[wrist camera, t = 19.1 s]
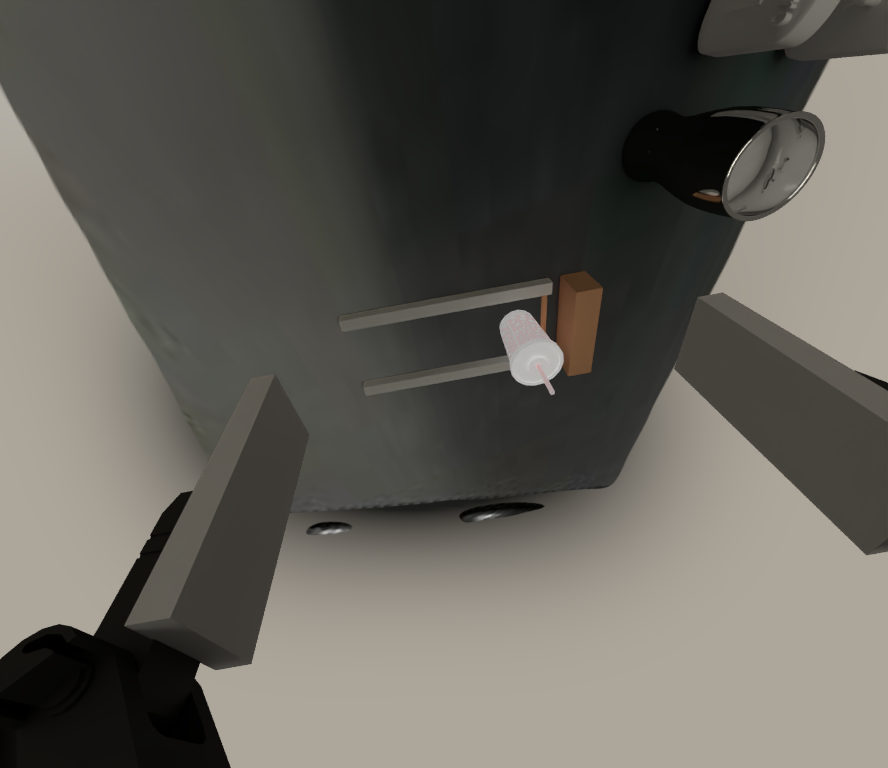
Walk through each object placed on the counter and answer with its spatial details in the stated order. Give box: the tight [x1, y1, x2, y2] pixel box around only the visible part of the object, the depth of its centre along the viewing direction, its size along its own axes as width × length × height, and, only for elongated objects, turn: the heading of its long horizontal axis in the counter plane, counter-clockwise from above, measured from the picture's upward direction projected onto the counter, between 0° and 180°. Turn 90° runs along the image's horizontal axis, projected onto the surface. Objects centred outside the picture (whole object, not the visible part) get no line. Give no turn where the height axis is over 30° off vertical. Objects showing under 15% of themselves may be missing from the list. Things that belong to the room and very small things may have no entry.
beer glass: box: [622, 106, 825, 221], centre depth 31 cm, size 7×7×15 cm
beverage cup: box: [500, 310, 564, 395], centre depth 42 cm, size 6×6×14 cm
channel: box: [338, 271, 603, 396], centre depth 46 cm, size 30×12×5 cm, turn 98°
